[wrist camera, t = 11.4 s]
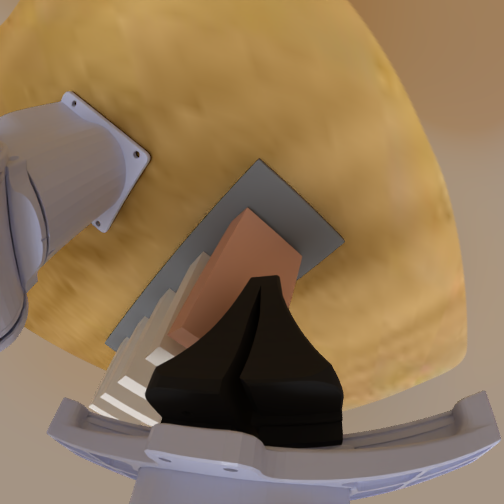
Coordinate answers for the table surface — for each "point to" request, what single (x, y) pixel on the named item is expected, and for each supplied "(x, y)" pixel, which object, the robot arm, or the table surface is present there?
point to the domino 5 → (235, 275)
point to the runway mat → (216, 223)
